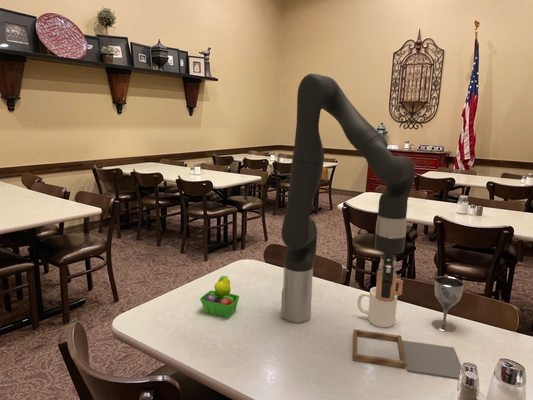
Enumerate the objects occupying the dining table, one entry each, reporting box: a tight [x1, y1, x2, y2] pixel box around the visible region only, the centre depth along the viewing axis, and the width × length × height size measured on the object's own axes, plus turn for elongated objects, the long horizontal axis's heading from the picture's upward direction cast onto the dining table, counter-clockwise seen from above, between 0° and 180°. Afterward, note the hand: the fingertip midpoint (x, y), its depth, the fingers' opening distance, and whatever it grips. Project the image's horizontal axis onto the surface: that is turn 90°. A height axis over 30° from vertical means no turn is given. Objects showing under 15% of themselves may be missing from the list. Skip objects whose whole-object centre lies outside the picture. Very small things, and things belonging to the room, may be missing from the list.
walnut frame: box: [352, 328, 407, 370], centre depth 109 cm, size 14×14×2 cm
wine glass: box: [431, 276, 465, 333], centre depth 121 cm, size 8×8×15 cm
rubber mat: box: [402, 339, 463, 380], centre depth 105 cm, size 14×14×1 cm
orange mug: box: [375, 269, 404, 302], centre depth 104 cm, size 7×5×7 cm
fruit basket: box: [199, 275, 240, 318], centre depth 128 cm, size 11×9×11 cm
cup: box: [356, 286, 398, 328], centre depth 124 cm, size 8×12×10 cm
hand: (385, 292), depth 105 cm, fingers closed on orange mug, 5 cm apart
